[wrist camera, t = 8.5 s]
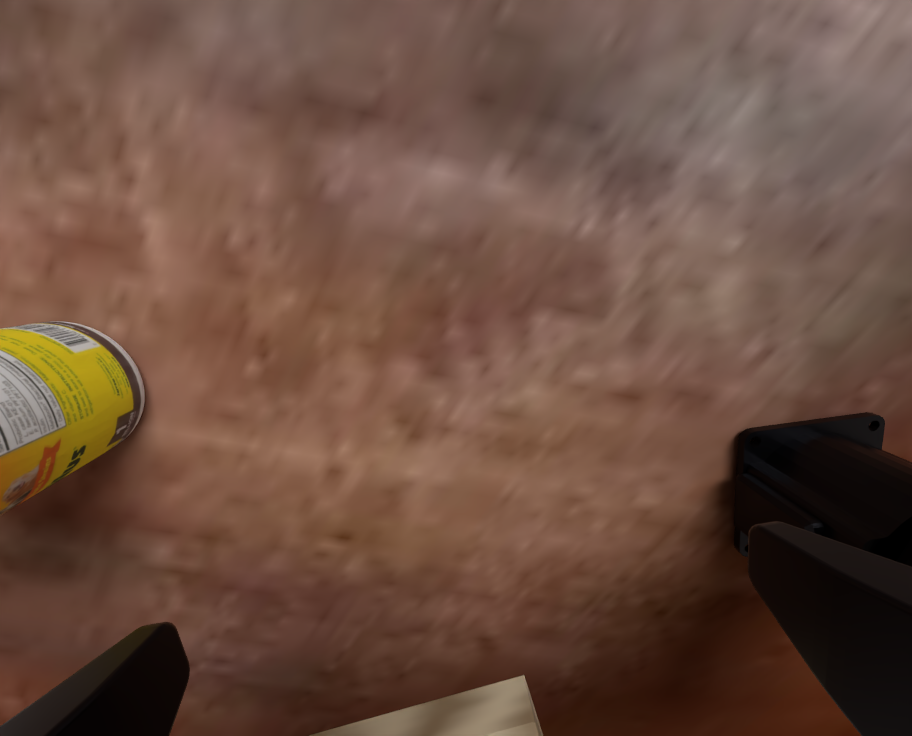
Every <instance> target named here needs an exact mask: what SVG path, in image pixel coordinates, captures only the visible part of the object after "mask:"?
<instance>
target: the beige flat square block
mask: <svg viewBox="0 0 912 736" xmlns="http://www.w3.org/2000/svg"><path fill="white" fill-rule="evenodd" d="M309 736H543V734H542V731H541V727H540V724H539V721H538V718H537V715H536V711H535V708H534V705H533V702H532V698H531V695H530V692H529V689H528V686H527V682H526V679H525V676H524V675H523V676H519V677H515V678H512V679H508V680H505V681H501V682H498V683H494V684H490V685H487V686H483V687H480V688H476V689H473V690H469V691H466V692H462V693H458V694H455V695H451V696H448V697H444V698H441V699H437V700H433V701H430V702H426V703H423V704H419V705H416V706H412V707H408V708H405V709H401V710H398V711H394V712H391V713H387V714H383V715H380V716H376V717H373V718H369V719H366V720H362V721H359V722H355V723H351V724H348V725H344V726H341V727H337V728H334V729H330V730H326V731H323V732H319V733H316V734H312V735H309Z"/></svg>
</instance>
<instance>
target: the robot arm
mask: <svg viewBox="0 0 912 736" xmlns="http://www.w3.org/2000/svg"><path fill="white" fill-rule="evenodd" d="M870 423H871V424H870ZM869 424H870V425H869ZM884 427H885V421H884V419H883V417H881V416H879V415H876V414H873V413H868V412H866V413H859V414H852V415H844V416H837V417H829V418H822V419H814V420H807V421H799V422H792V423H784V424H777V425H769V426H762V427H754V428H749V429H745V430H744V431H743V432H742V433H741V434H740V436H739V440H738V463H737V478H736V488H735V512H734V524H735V534H734V546H735V548H736V549H737V550H738V551H739V552H740V553H741V554H742V555H743V556H745V557H748V573H749V577H750V580H751V582H752V584H753V586H754V588H755V589H756V591H757V592H758V594H759V595H760V596H761V598H762V599H763V601H764V602H765V604H766V605H767V607H768V608H769V610H770V611H771V612H772V614H773V615H774V617H775V618H776V620H777V621H778V623H779V624H780V626H781V627H782V629H783V630H784V631H785V633H786V634H787V636H788V637H789V639H790V640H791V642H792V643H793V645H794V646H795V648H796V649H797V650H798V652H799V653H800V655H801V656H802V658H803V659H804V661H805V662H806V664H807V665H808V666H809V668H810V669H811V671H812V672H813V674H814V675H815V676H816V678H817V679H818V681H819V682H820V683H821V685H822V686H823V687H824V689H825V690H826V691H827V693H828V694H829V695H830V697H831V698H832V699H833V700H834V702H835V703H836V704H837V706H838V707H839V708H840V709H841V711H842V712H843V713H844V714H845V716H846V717H847V718H848V719H849V720H850V722H851V723H852V724H853V725H854V727H855V728H856V729H857V730H858V732H859V733H860V734H861V735H862V736H912V462H909V461H907V460H905V459H902V458H900V457H898V456H895V455H893V454H891V453H888V452H886V451H883V450H882V442H883V435H884ZM753 437H755V438H754V441H753V442H752V443H750V440H751V439H752V438H753ZM747 544H748V545H747ZM746 545H747V546H746ZM745 546H746V547H745ZM189 672H190V668H189V662H188V659H187V656H186V653H185V650H184V648H183V645H182V642H181V640H180V637H179V634H178V631H177V629H176V627H175V626H174V625H173V624H172V623H170V622H162V623H156V624H150V625H145V626H142V627H140V628H138V629H136V630H135V631H134V632H132V633H131V634H129V635H128V636H127V637H125V638H124V639H122V640H121V641H120V642H118V643H117V644H115V645H114V646H113V647H111V648H110V649H108V650H107V651H106V652H104V653H103V654H101V655H100V656H98V657H97V658H96V659H94V660H93V661H91V662H90V663H89V664H87V665H86V666H84V667H83V668H82V669H80V670H79V671H77V672H76V673H75V674H73V675H72V676H70V677H69V678H68V679H66V680H65V681H63V682H62V683H61V684H59V685H58V686H56V687H55V688H54V689H52V690H51V691H49V692H48V693H47V694H45V695H44V696H42V697H41V698H40V699H38V700H37V701H35V702H34V703H33V704H31V705H30V706H28V707H27V708H26V709H24V710H23V711H21V712H20V713H18V714H17V715H16V716H14V717H13V718H11V719H10V720H9V721H7V722H6V723H4V724H3V725H2V726H0V736H169V735H170V732H171V729H172V726H173V724H174V721H175V718H176V715H177V712H178V709H179V706H180V703H181V701H182V698H183V695H184V692H185V689H186V686H187V683H188V679H189Z"/></svg>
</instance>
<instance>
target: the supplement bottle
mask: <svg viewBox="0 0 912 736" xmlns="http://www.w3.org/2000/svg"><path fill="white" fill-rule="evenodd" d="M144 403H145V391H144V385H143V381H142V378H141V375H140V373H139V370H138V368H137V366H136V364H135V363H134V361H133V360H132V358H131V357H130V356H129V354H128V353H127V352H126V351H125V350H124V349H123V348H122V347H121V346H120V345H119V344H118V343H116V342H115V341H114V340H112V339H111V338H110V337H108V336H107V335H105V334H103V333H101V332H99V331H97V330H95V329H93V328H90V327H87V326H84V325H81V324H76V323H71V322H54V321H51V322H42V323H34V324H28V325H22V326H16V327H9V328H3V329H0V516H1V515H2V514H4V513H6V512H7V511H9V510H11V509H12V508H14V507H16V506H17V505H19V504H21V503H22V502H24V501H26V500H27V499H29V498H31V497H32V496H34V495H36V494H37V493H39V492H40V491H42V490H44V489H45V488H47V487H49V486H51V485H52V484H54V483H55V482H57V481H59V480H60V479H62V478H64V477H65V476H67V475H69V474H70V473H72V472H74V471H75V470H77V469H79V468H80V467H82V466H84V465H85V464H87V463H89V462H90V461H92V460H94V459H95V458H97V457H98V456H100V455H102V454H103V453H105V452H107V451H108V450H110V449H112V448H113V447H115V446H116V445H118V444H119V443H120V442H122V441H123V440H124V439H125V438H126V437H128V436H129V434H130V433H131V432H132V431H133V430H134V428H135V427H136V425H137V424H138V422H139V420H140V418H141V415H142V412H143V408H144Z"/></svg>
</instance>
